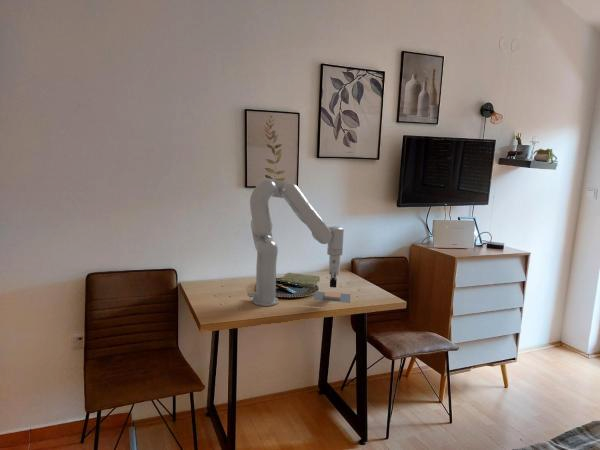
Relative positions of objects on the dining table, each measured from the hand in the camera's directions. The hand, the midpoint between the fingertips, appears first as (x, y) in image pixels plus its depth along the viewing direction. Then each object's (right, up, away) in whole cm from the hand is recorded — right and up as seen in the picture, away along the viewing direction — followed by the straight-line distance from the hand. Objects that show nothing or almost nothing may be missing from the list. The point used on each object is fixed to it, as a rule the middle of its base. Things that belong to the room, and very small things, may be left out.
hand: (333, 286), depth 217 cm
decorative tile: (-17, -2, +27) cm, 32 cm away
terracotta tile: (+1, -4, +6) cm, 7 cm away
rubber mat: (0, -6, +3) cm, 7 cm away
